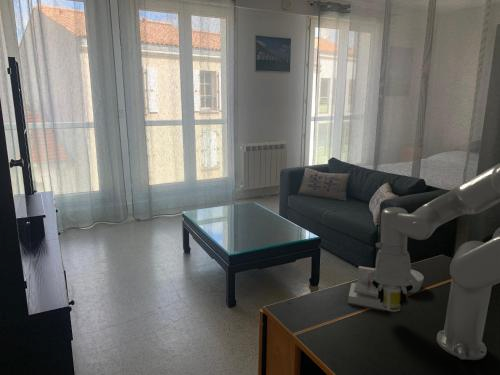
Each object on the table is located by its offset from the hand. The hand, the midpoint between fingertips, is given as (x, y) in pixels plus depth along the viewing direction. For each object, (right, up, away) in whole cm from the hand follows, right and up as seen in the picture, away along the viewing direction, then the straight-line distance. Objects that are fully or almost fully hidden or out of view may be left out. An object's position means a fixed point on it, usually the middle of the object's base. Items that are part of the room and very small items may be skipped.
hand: (391, 301), depth 119 cm
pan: (-4, -1, +12) cm, 13 cm away
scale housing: (-4, -4, +14) cm, 15 cm away
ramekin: (+14, -2, +23) cm, 27 cm away
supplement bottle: (0, -2, 0) cm, 2 cm away
